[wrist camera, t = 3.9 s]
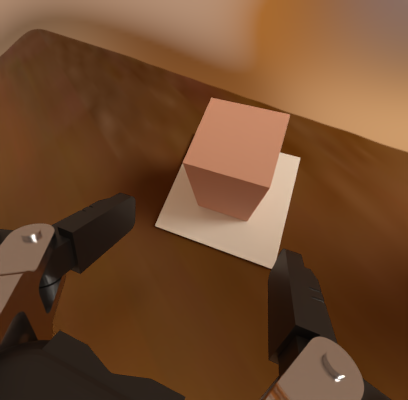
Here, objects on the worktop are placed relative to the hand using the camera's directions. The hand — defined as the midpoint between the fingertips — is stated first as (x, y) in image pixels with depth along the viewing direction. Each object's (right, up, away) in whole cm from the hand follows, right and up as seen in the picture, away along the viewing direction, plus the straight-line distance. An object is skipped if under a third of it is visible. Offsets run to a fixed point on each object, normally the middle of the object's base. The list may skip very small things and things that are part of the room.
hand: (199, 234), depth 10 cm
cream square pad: (+3, +3, +13) cm, 14 cm away
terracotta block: (+3, +3, +13) cm, 14 cm away
